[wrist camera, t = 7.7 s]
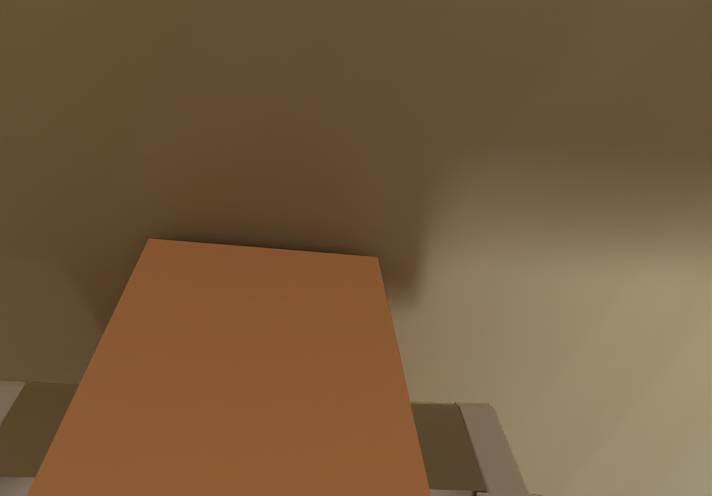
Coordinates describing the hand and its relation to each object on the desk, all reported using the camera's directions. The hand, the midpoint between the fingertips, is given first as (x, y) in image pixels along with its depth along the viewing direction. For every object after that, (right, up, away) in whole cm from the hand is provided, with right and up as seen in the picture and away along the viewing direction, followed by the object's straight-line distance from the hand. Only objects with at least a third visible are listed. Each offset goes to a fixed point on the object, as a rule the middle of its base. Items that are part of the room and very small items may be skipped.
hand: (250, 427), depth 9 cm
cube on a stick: (-1, -7, +6) cm, 9 cm away
